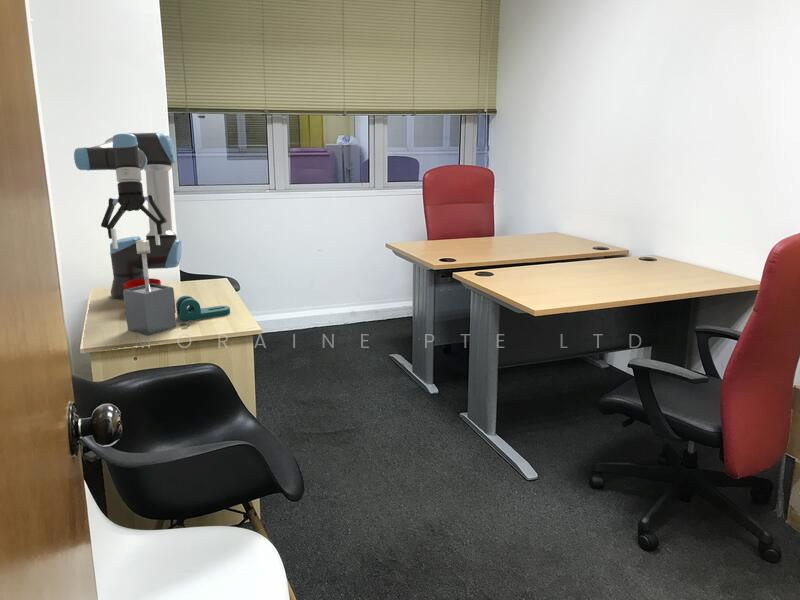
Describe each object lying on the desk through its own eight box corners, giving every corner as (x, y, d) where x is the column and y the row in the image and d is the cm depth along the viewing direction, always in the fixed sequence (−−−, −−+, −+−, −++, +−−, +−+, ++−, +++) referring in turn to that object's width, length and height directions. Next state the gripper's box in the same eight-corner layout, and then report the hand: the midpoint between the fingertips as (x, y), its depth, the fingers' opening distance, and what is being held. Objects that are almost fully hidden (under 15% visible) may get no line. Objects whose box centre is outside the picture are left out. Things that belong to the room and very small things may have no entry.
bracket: (182, 322, 220) (179, 301, 218) (177, 318, 225) (175, 296, 223) (232, 314, 229) (230, 293, 227) (226, 310, 235) (225, 290, 233)
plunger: (151, 288, 215) (145, 238, 211) (167, 291, 211) (162, 240, 206) (128, 293, 208) (122, 241, 204) (145, 296, 204) (139, 244, 199)
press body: (164, 319, 223) (160, 281, 219) (185, 324, 217) (181, 285, 214) (127, 330, 211) (122, 289, 207) (148, 335, 205) (143, 294, 202)
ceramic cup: (160, 314, 230) (157, 287, 227) (119, 311, 233) (115, 285, 231) (179, 304, 242) (176, 279, 240) (139, 302, 245) (136, 277, 243)
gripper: (85, 183, 202) (93, 249, 203) (165, 177, 205) (173, 242, 206) (93, 186, 209) (101, 250, 210) (171, 181, 212) (178, 244, 213)
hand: (137, 246), depth 208 cm, fingers open, 13 cm apart
